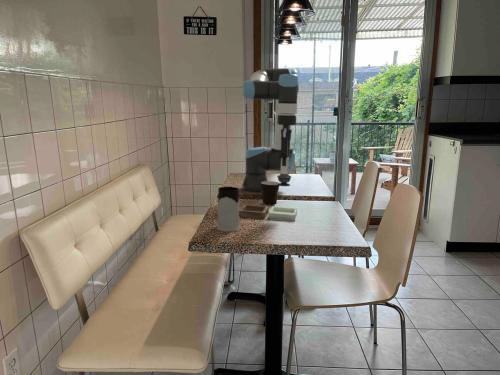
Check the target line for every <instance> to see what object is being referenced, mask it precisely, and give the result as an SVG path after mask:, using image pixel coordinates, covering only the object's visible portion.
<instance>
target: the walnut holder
mask: <svg viewBox="0 0 500 375" xmlns="http://www.w3.org/2000/svg"><path fill="white" fill-rule="evenodd" d="M269 212H270V205H257V204H243V205H242V206H241V207H240V208H239V217H240V218H241V217H242V218H253V219H266V217H267V216H268V215H269Z"/></svg>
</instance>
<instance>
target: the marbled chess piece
mask: <svg viewBox="0 0 500 375" xmlns="http://www.w3.org/2000/svg"><path fill="white" fill-rule="evenodd" d="M280 168H281V167H280ZM288 168H289V167H288ZM276 177H277V180H278V182H279V184H278V185H279V187H290V186H291V184H290V182H291V178H292V176H291V175H289V171H288V170H287V174H279V175H277V176H276Z"/></svg>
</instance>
